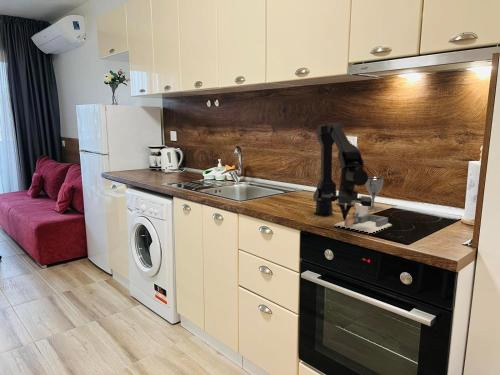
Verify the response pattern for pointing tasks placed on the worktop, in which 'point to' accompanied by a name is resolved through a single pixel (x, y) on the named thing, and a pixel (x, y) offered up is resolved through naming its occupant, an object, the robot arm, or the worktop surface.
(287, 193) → the worktop surface
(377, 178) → the wine glass
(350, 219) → the locking bar
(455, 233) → the worktop surface
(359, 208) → the pepper shaker
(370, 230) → the lock base
